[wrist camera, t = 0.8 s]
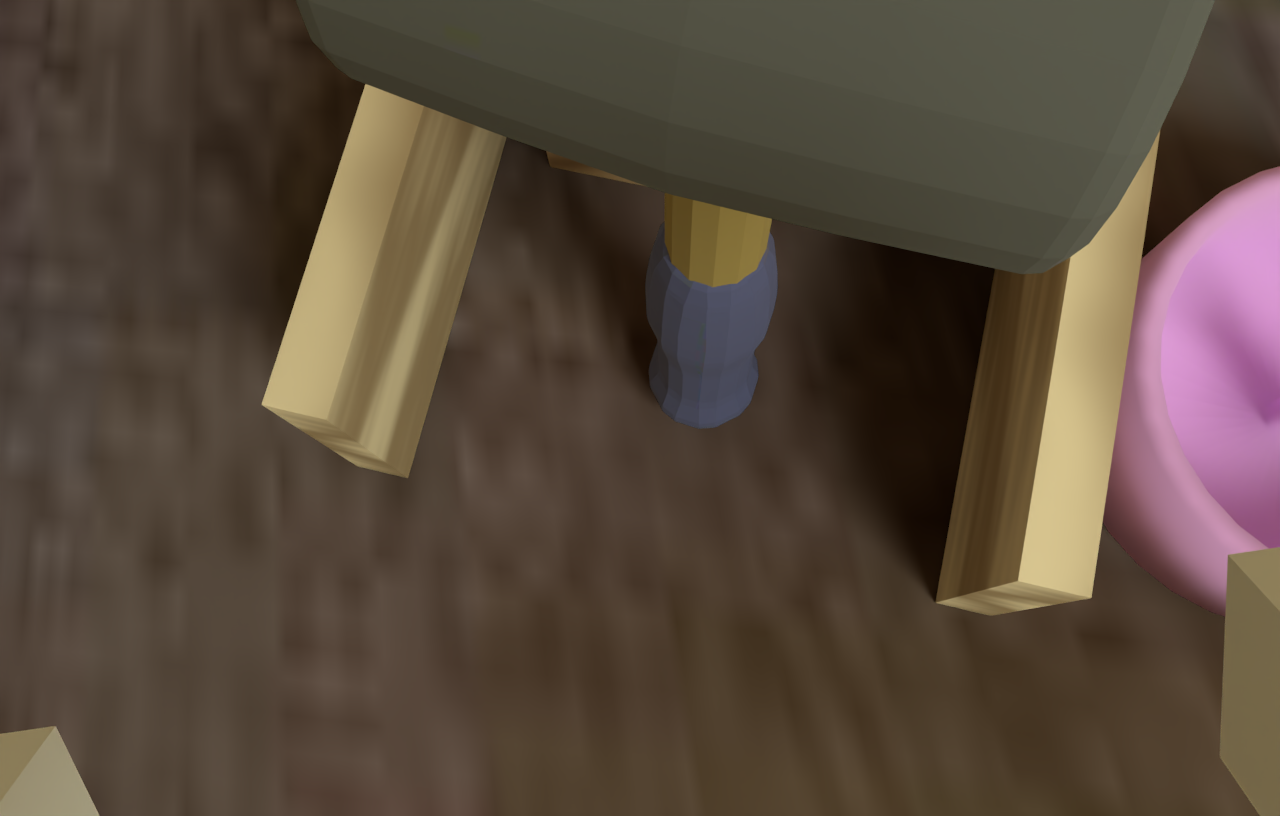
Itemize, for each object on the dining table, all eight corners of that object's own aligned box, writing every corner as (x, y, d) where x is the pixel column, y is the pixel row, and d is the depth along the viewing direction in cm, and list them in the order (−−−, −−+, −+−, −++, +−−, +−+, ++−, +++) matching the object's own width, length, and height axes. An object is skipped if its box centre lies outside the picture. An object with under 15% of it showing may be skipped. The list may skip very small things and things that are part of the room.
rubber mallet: (887, 343, 43) (1349, -373, 13) (832, 530, 41) (1220, 181, 12) (580, 251, 44) (387, -587, 15) (516, 428, 42) (156, -116, 13)
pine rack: (357, 466, 42) (261, 404, 32) (508, -35, 47) (463, -220, 37) (990, 615, 40) (1091, 598, 30) (1080, 76, 45) (1192, -89, 35)
